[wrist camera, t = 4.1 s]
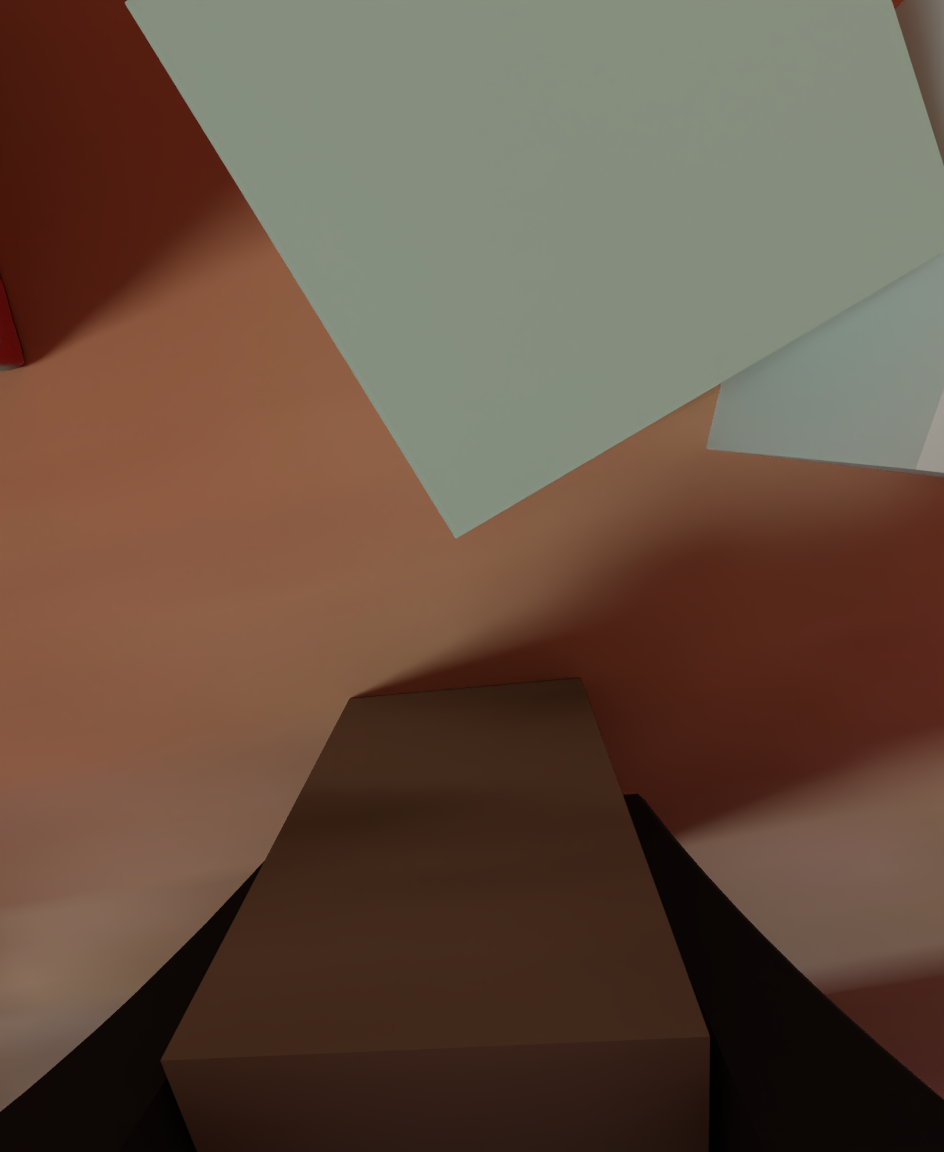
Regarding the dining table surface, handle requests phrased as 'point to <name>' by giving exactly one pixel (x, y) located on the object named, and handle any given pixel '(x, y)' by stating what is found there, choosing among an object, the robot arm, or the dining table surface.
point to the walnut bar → (450, 951)
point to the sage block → (561, 200)
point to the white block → (859, 348)
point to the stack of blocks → (8, 337)
